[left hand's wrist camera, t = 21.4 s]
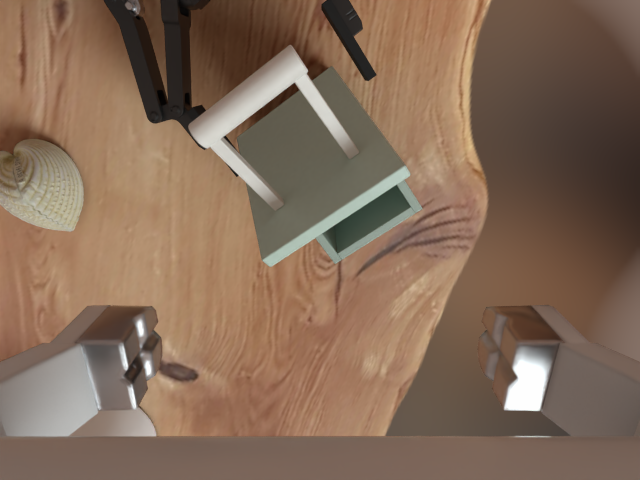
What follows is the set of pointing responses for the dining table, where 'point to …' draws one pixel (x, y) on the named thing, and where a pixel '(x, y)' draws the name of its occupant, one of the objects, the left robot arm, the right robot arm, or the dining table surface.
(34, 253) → the dining table surface
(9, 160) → the seashell
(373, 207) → the chest
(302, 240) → the lid
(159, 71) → the right robot arm
